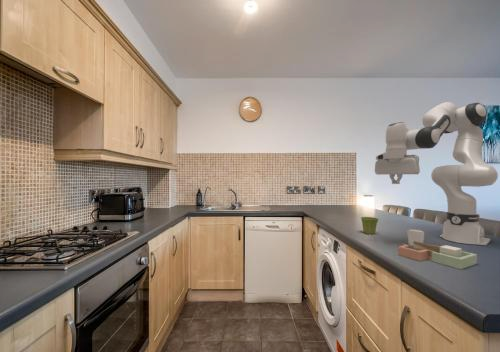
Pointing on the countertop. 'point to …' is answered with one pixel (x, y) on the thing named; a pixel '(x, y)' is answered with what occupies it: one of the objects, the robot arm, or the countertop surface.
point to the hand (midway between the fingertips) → (395, 183)
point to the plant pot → (369, 224)
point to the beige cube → (415, 236)
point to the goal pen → (455, 260)
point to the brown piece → (425, 248)
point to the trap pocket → (412, 253)
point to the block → (451, 251)
